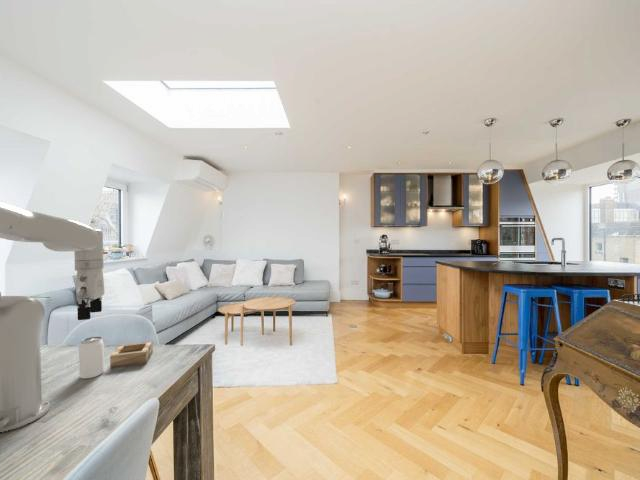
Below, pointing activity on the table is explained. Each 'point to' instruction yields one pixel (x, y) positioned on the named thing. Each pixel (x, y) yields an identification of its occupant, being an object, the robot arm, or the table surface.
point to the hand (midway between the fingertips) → (90, 315)
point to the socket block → (131, 355)
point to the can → (91, 357)
